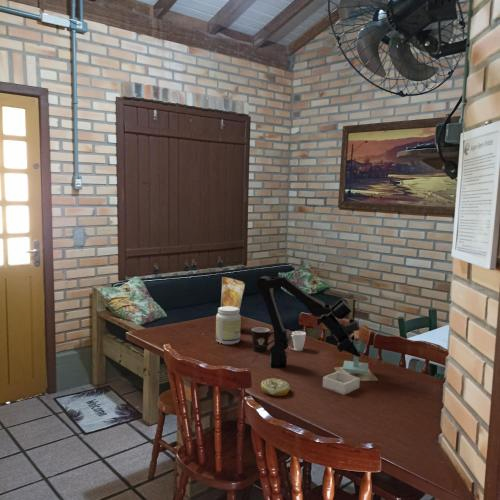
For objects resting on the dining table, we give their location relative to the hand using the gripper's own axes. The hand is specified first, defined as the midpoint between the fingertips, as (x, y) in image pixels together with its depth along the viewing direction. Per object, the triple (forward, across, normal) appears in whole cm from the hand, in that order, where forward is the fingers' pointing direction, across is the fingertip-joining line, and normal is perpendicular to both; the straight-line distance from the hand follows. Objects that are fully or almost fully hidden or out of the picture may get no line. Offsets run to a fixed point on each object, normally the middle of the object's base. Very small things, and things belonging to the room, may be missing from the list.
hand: (359, 354), depth 199 cm
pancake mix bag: (-44, +47, +56) cm, 86 cm away
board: (+5, 0, +7) cm, 9 cm away
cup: (-15, +25, +28) cm, 40 cm away
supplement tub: (-40, +26, +52) cm, 71 cm away
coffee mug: (-26, +17, +38) cm, 49 cm away
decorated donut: (-14, -28, +27) cm, 42 cm away
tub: (+2, -16, +10) cm, 19 cm away
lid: (+4, 0, +6) cm, 7 cm away
